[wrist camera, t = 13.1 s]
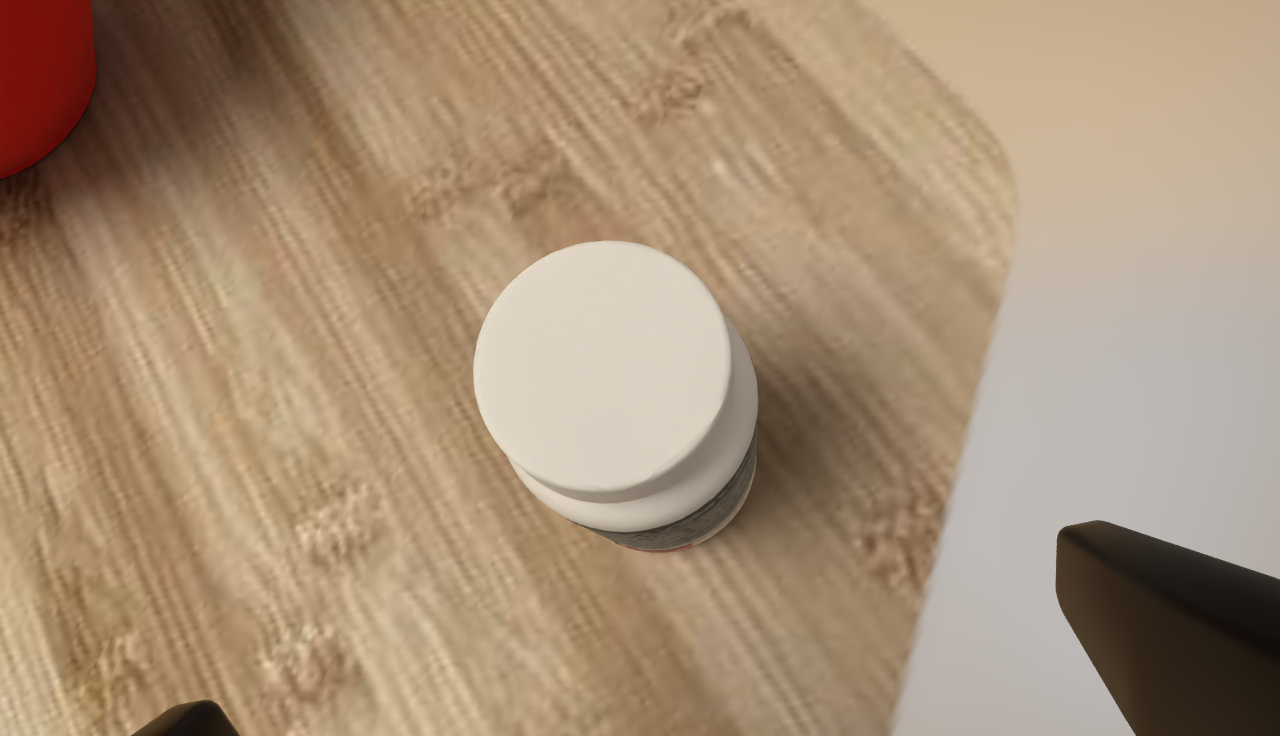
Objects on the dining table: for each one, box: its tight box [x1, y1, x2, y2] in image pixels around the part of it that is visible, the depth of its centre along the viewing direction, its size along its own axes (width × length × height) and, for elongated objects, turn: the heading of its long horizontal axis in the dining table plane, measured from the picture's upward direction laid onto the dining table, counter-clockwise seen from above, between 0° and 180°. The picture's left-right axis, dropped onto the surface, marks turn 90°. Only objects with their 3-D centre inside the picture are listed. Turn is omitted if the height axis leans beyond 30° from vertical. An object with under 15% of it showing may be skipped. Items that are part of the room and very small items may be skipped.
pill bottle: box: [473, 240, 758, 553], centre depth 16 cm, size 5×5×8 cm
